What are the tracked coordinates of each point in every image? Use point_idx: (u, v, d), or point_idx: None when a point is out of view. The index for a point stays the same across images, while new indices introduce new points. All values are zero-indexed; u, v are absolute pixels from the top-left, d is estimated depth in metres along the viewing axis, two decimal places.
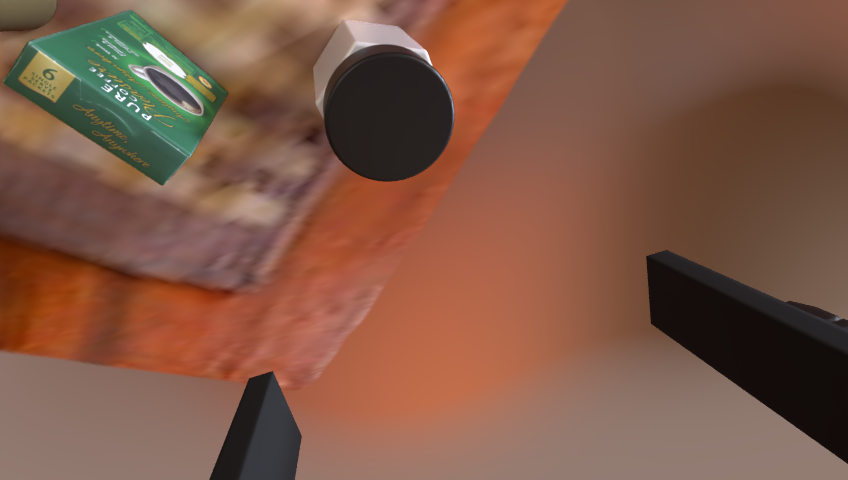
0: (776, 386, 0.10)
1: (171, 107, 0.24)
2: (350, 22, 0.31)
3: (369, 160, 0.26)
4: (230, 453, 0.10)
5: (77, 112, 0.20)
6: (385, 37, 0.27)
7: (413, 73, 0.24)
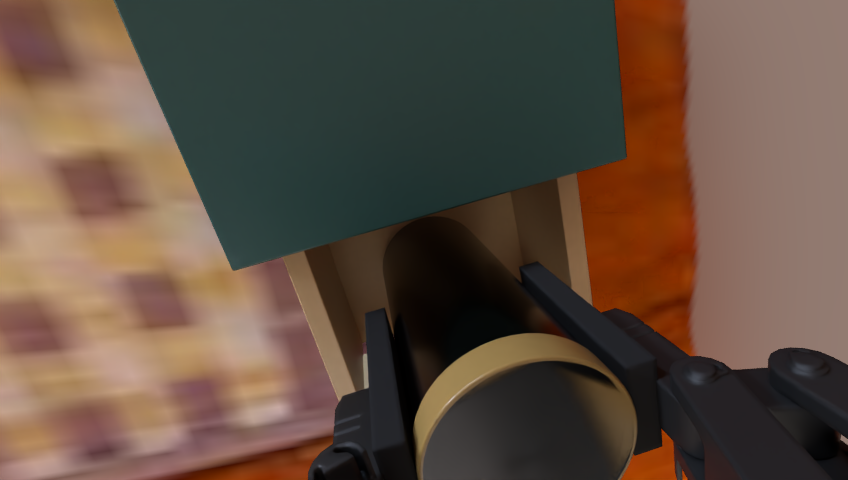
0: None
1: None
2: None
3: None
4: (377, 359, 0.12)
5: None
6: None
7: None
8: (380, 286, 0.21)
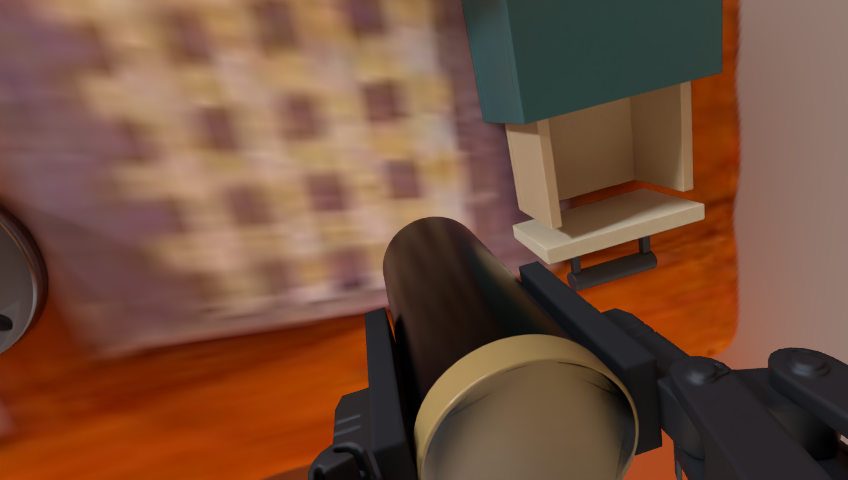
0: None
1: None
2: None
3: None
4: (377, 359, 0.12)
5: None
6: None
7: None
8: None
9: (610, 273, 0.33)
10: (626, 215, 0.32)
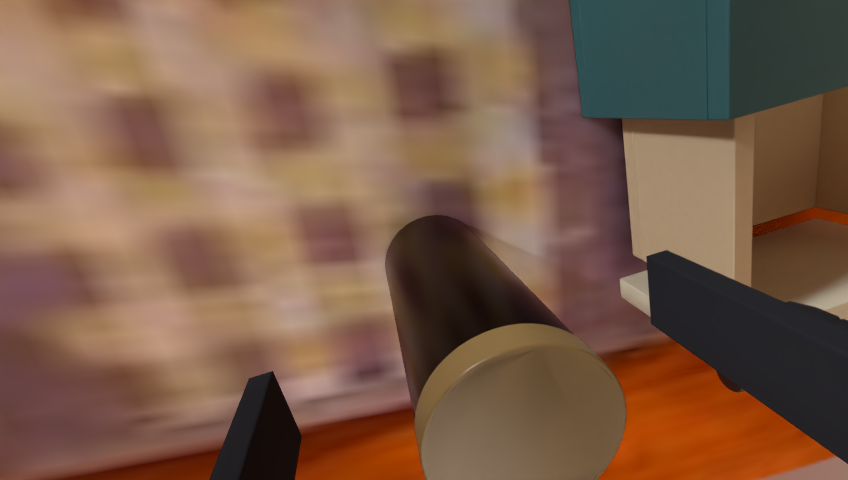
0: (776, 386, 0.10)
1: None
2: None
3: None
4: (230, 453, 0.10)
5: None
6: None
7: None
8: None
9: None
10: (833, 272, 0.19)
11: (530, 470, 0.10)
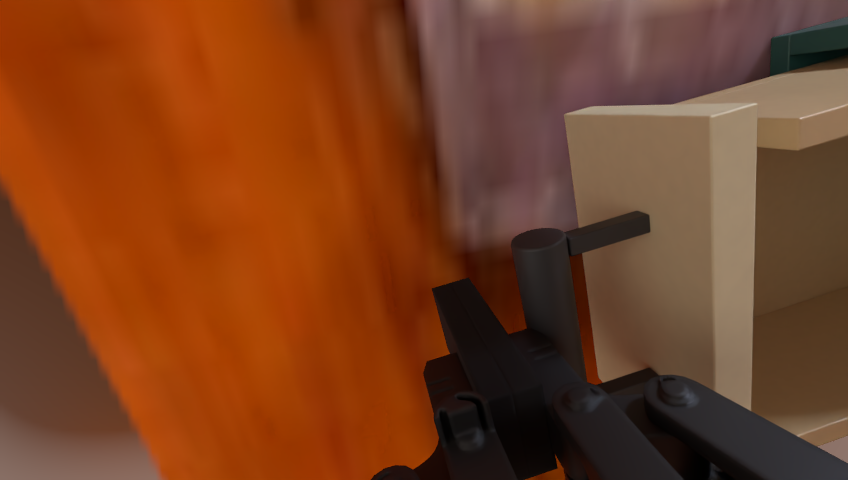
0: None
1: None
2: None
3: None
4: (459, 326, 0.13)
5: None
6: None
7: None
8: None
9: (569, 331, 0.12)
10: None
11: None
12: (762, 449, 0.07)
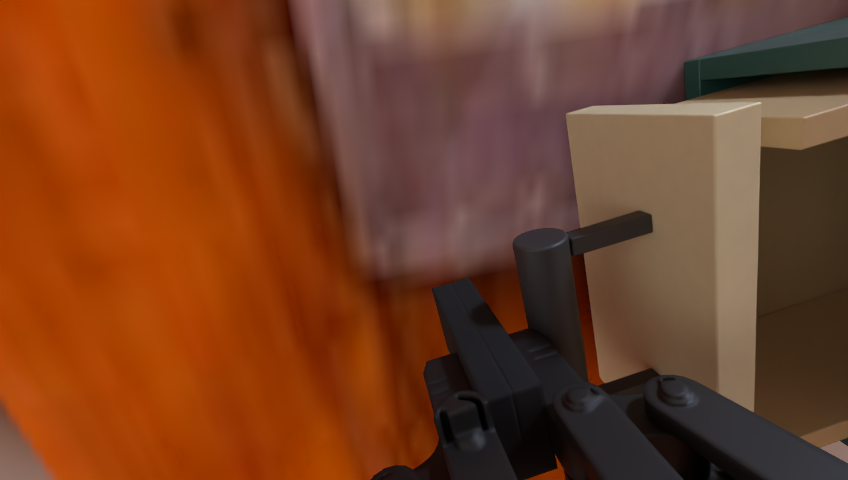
0: None
1: None
2: None
3: None
4: (459, 326, 0.13)
5: None
6: None
7: None
8: None
9: (572, 332, 0.12)
10: None
11: None
12: (762, 449, 0.07)
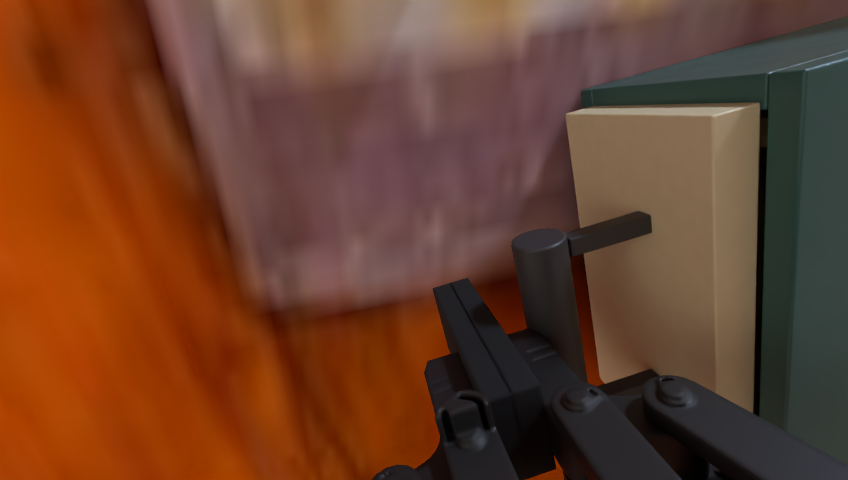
0: None
1: None
2: None
3: None
4: (460, 326, 0.13)
5: None
6: None
7: None
8: None
9: (570, 332, 0.12)
10: None
11: None
12: (760, 449, 0.07)
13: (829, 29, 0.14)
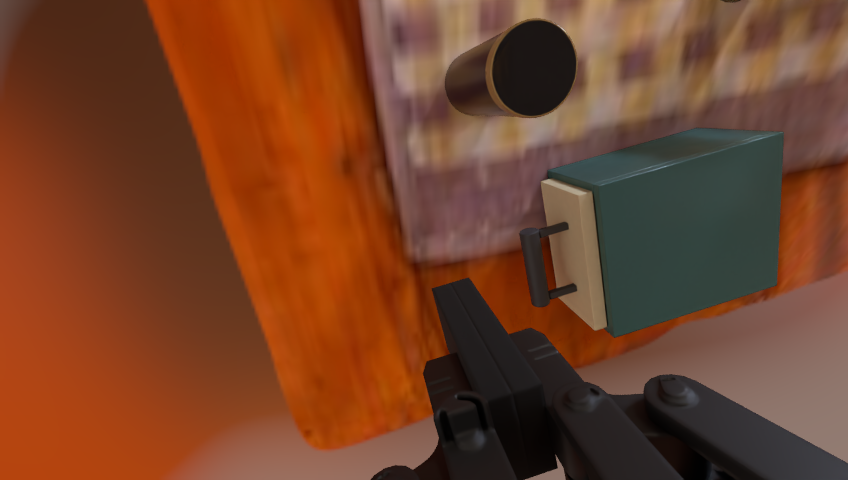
0: None
1: None
2: None
3: None
4: (459, 326, 0.13)
5: None
6: None
7: None
8: None
9: (540, 264, 0.35)
10: None
11: (518, 72, 0.23)
12: (762, 449, 0.07)
13: (640, 152, 0.36)
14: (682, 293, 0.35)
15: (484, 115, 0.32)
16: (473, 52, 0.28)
